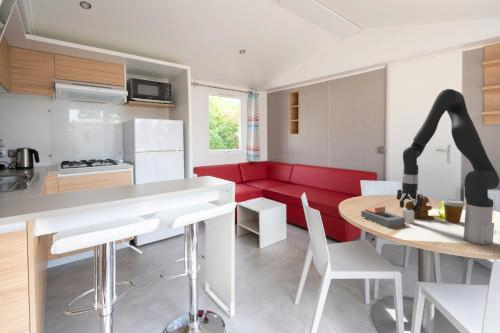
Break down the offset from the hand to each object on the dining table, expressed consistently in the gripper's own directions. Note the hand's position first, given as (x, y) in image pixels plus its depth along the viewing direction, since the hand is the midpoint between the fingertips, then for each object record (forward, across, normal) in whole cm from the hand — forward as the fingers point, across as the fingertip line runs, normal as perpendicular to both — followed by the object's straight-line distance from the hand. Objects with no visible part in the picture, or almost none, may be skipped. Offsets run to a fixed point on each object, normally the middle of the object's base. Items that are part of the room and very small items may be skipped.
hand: (408, 209), depth 144 cm
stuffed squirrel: (+8, +4, -13) cm, 16 cm away
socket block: (+7, +6, +12) cm, 16 cm away
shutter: (+3, +12, +13) cm, 18 cm away
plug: (+7, -1, 0) cm, 7 cm away
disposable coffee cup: (+7, -9, -23) cm, 26 cm away
